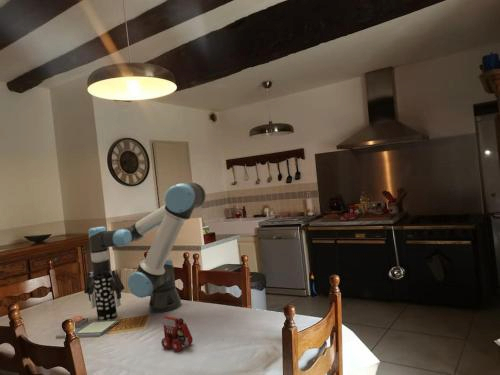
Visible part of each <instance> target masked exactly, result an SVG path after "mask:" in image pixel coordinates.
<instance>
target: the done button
mask: <svg viewBox="0 0 500 375" xmlns="http://www.w3.org/2000/svg"><path fill="white" fill-rule="evenodd" d="M83 318H84V317H83V315H77V316H74V317H72V321H73V320H74V322H75V323H80V322H81V321H83Z"/></svg>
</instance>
